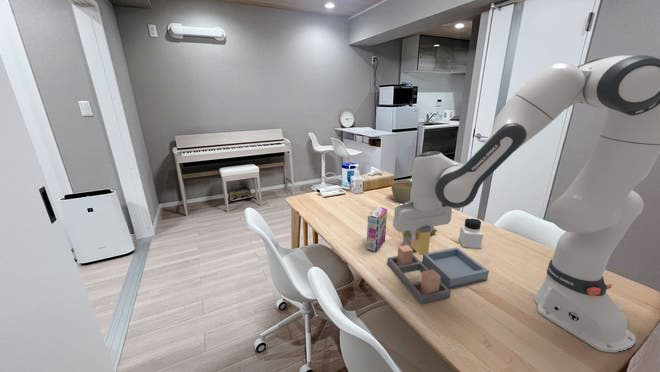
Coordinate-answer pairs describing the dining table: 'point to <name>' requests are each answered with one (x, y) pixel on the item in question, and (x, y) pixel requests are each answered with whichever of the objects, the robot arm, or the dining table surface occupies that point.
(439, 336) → the dining table surface
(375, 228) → the candy bar box
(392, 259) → the slot holder
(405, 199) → the planter bowl
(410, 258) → the block
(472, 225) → the medicine bottle
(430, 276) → the block
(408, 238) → the crayon box
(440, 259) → the tray
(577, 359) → the dining table surface
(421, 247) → the yellow box
